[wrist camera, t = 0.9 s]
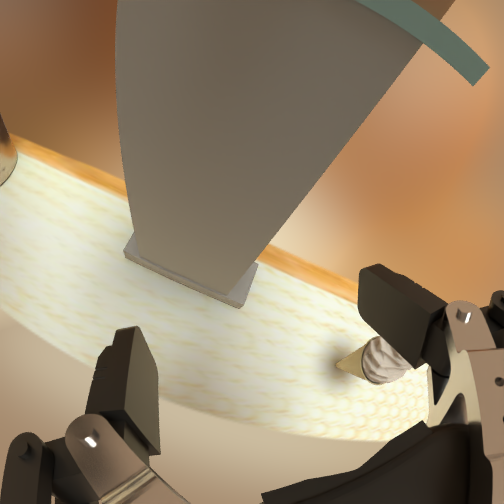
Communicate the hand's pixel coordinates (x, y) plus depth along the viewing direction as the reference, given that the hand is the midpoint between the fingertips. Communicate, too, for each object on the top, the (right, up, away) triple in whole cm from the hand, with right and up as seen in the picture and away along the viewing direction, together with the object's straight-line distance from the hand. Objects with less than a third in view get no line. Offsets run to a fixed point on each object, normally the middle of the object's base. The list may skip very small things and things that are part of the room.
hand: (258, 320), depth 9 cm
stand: (-7, +1, +22) cm, 23 cm away
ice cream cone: (+10, -12, +22) cm, 27 cm away
